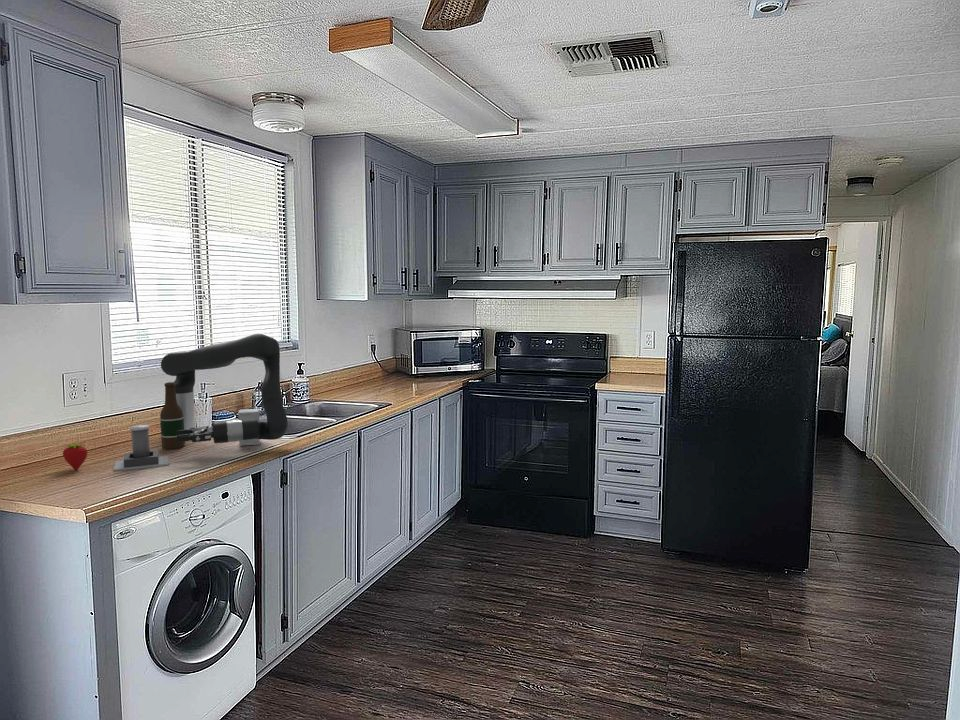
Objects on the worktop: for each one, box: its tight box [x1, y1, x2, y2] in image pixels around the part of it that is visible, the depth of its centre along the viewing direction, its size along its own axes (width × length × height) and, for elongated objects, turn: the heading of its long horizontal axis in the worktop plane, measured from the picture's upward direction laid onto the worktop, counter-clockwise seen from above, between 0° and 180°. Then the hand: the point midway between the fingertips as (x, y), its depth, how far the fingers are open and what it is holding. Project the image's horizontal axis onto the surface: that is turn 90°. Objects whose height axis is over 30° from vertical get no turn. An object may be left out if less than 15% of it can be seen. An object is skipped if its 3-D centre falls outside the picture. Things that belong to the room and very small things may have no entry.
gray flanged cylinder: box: [129, 424, 151, 458], centre depth 224 cm, size 6×6×12 cm
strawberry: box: [62, 438, 88, 470], centre depth 218 cm, size 6×8×10 cm
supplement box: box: [237, 408, 261, 447], centre depth 253 cm, size 7×7×13 cm
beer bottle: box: [159, 381, 186, 451], centre depth 248 cm, size 8×8×24 cm
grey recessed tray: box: [112, 450, 170, 472], centre depth 224 cm, size 12×16×3 cm
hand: (176, 436), depth 228 cm, fingers open, 8 cm apart
